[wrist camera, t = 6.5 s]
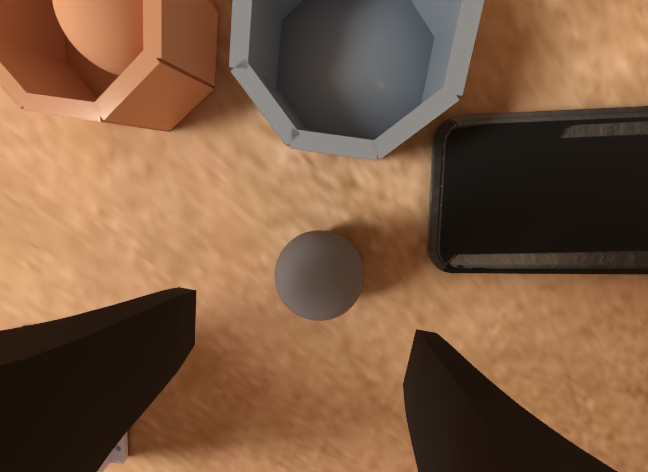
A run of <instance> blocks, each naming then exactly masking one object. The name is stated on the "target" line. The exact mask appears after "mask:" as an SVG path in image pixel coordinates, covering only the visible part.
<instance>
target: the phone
mask: <svg viewBox="0 0 648 472" xmlns="http://www.w3.org/2000/svg"><path fill="white" fill-rule="evenodd" d="M427 250H428V255H429V257H430V259H431V261H432V262H433V263H434V265H435V266H436V267H437V268H438V269H440V270H442V271H444V272H449V273H519V274H648V106H642V107H621V108H600V109H579V110H558V111H537V112H516V113H495V114H473V115H461V116H456V117H453V118H451V119H449V120H447V121H445V122H444V123H443V124H442V125H441V126H440V127H439V128H438V129H437V131H436V133H435V134H434V137H433V142H432V161H431V181H430V202H429V222H428V243H427Z"/></svg>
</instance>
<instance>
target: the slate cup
mask: <svg viewBox="0 0 648 472" xmlns="http://www.w3.org/2000/svg"><path fill="white" fill-rule="evenodd" d="M483 5H484V0H232V18H231V37H230V56H229V67H230V68H231V69H233V70H231V71H230V72H231V73H232V74H233V76H234V77H235V78H236V80H237V81H238V82H239V84H240V85H241V86H242V88H243V89H244V90H245V92H246V93H247V94H248V96H249V97H250V98H251V100H252V101H253V102H254V104H255V105H256V106H257V108H258V109H259V110H260V112H261V113H262V114H263V116H264V117H265V119H266V120H267V121H268V123H269V124H270V125H271V127H272V128H273V129H274V131H275V132H276V133H277V135H278V136H279V137H280V139H281V140H282V141H283V143H284V144H285V145H286V146H289V147H290V148H291V149H297V150H304V151H310V152H317V153H324V154H331V155H338V156H345V157H353V158H360V159H367V160H376V159H381V158H383V157H384V156H385V155H387V154H388V153H390V152H391V151H392V150H394V149H395V148H396V147H398V146H399V145H400V144H402V143H403V142H404V141H406V140H407V139H408V138H410V137H411V136H412V135H414V134H415V133H416V132H418V131H419V130H420V129H422V128H423V127H424V126H426V125H427V124H428V123H430V122H431V121H432V120H434V119H435V118H436V117H438V116H439V115H440V114H442V113H443V112H444V111H446V110H447V109H448V108H450V107H451V106H452V105H454V104H455V103H456V102H458V101H459V99H458V98H459V97H461V96H463V91H464V87H465V83H466V78H467V74H468V70H469V65H470V61H471V57H472V52H473V48H474V44H475V39H476V35H477V31H478V26H479V22H480V18H481V13H482V9H483Z"/></svg>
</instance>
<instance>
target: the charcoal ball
mask: <svg viewBox="0 0 648 472" xmlns="http://www.w3.org/2000/svg"><path fill="white" fill-rule="evenodd" d="M363 283H364V268H363V263H362V260H361V258H360V255H359V253H358V252H357V250H356V249H355V248H354V246H353V245H352V244H351V243H350V242H349V241H348V240H346V239H345V238H343V237H342V236H340V235H338V234H336V233H333V232H329V231H321V230H320V231H310V232H307V233H303V234H301V235H299V236H297V237H296V238H294V239H293V240H292V241H290V242H289V243H288V244H287V245H286V246H285V247H284V249H283V250H282V252H281V254H280V256H279V258H278V260H277V263H276V268H275V284H276V288H277V291H278V294H279V296H280V298H281V299H282V301H283V302H284V304H285V305H286V306H287V307H288V308H289V309H290V310H291V311H292V312H294V313H295V314H297V315H299V316H301V317H303V318H306V319H309V320H316V321H323V320H329V319H333V318H336V317H338V316H340V315H342V314H344V313H345V312H346V311H348V310H349V309H350V308H351V307H352V306H353V305H354V303H355V302H356V301H357V299H358V297H359V296H360V293H361V291H362V288H363Z"/></svg>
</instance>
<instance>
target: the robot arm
mask: <svg viewBox="0 0 648 472" xmlns="http://www.w3.org/2000/svg"><path fill="white" fill-rule="evenodd" d="M195 316H196V290H191V289H185V288H180V287H178V288H172V289H168V290H164V291H160V292H156V293H153V294H149V295H146V296H142V297H139V298H135V299H132V300H129V301H125V302H122V303H119V304H115V305H112V306H108V307H104V308H101V309H97V310H93V311H89V312H86V313H82V314H78V315H74V316H71V317H66V318H62V319H58V320H53V321H49V322H44V323H39V324H34V325H29V326H24V327H16V328H14V329H8V330H1V331H0V472H103V471H104V470H105V468H106V467H107V466H108V465H109V464H110V462H111V463H116V464H123V463H124V462H125V461H126V459H127V458H128V438H127V431H128V430H129V429H130V428H131V426H132V425H133V424H134V423H135V422H136V421H137V419H138V418H139V417H140V416H141V415H142V413H143V412H144V411H145V410H146V409H147V408H148V406H149V405H150V404H151V403H152V402H153V400H154V399H155V398H156V397H157V396H158V395H159V393H160V392H161V391H162V390H163V389H164V387H165V386H166V385H167V384H168V383H169V381H170V380H171V379H172V378H173V376H174V375H175V374H176V373H177V372H178V370H179V369H180V367H181V366H182V364H183V363H184V361H185V359H186V358H187V356H188V355H189V353H190V351H191V350H192V348H193V346H194V345H195ZM403 389H404V401H405V410H406V418H407V423H408V428H409V432H410V437H411V441H412V446H413V450H414V455H415V459H416V464H417V468H418V472H617V471H615V470H614V469H612V468H611V467H609V466H607V465H606V464H604V463H603V462H601V461H599V460H598V459H596V458H595V457H593V456H592V455H590V454H588V453H587V452H585V451H584V450H582V449H581V448H579V447H578V446H576V445H575V444H573V443H572V442H570V441H569V440H567V439H566V438H564V437H563V436H561V435H560V434H558V433H557V432H556V431H554V430H553V429H551V428H550V427H549V426H547V425H546V424H544V423H543V422H542V421H540V420H539V419H538V418H536V417H535V416H533V415H532V414H531V413H529V412H528V411H527V410H525V409H524V408H523V407H521V406H520V405H519V404H518V403H516V402H515V401H514V400H513V399H511V398H510V397H509V396H508V395H507V394H505V393H504V392H503V391H502V390H500V389H499V388H498V387H497V386H496V385H494V384H493V383H492V382H491V381H490V380H489V379H487V378H486V377H485V376H484V375H483V374H482V373H481V372H480V371H478V370H477V369H476V368H475V367H474V366H473V365H472V364H471V363H470V362H468V361H467V360H466V359H465V358H464V357H463V356H462V355H461V354H460V353H459V352H458V351H456V350H455V349H454V348H453V347H452V346H451V345H450V344H449V343H448V342H447V341H445V340H444V339H443V338H442V337H441V336H440V335H438V334H437V333H434V332H428V331H423V330H417V329H416V333H415V337H414V341H413V345H412V349H411V354H410V358H409V362H408V366H407V370H406V374H405V379H404V383H403Z"/></svg>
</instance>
